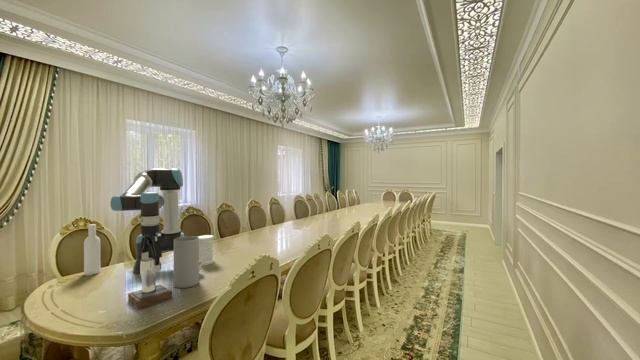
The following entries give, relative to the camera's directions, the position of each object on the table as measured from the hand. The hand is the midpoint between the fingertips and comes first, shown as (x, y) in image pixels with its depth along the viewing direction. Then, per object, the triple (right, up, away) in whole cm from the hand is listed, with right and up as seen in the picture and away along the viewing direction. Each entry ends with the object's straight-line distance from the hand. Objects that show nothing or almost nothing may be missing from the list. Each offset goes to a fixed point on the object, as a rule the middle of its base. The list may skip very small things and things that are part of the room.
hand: (150, 268), depth 129 cm
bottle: (-59, -15, +37) cm, 71 cm away
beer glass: (-1, -11, +1) cm, 11 cm away
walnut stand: (0, -15, 0) cm, 15 cm away
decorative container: (+2, -15, +57) cm, 59 cm away
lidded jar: (+4, -15, +34) cm, 37 cm away
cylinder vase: (+8, -15, +19) cm, 26 cm away
